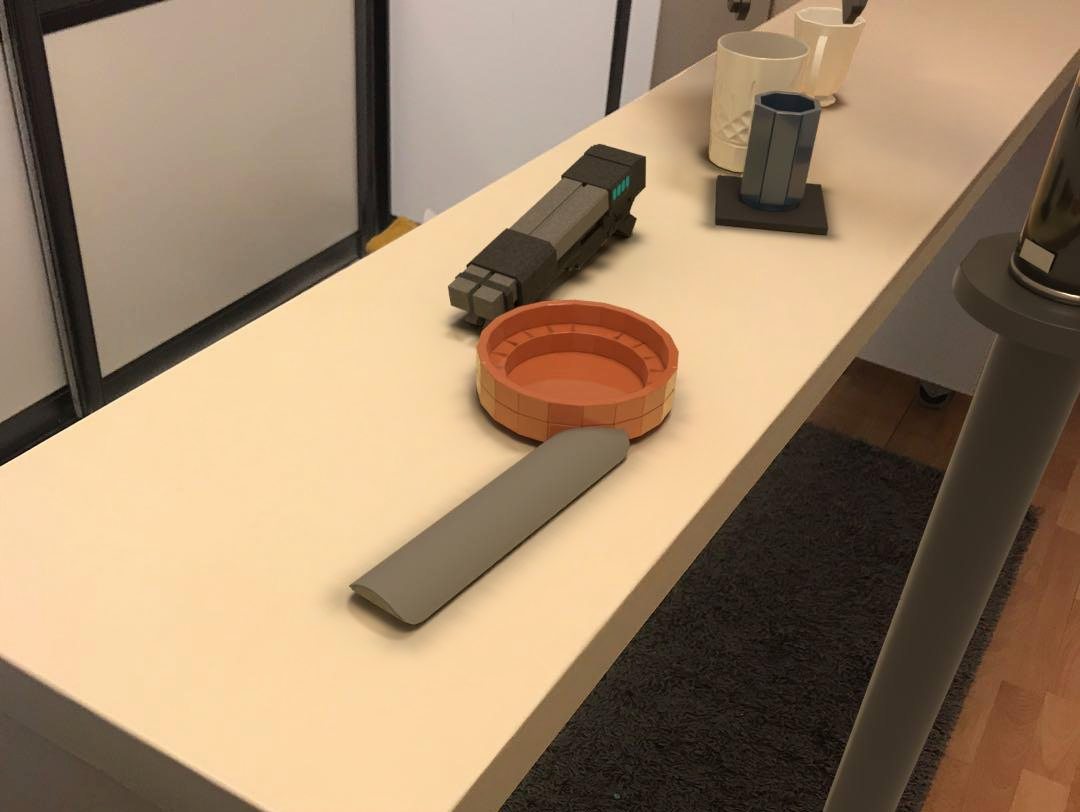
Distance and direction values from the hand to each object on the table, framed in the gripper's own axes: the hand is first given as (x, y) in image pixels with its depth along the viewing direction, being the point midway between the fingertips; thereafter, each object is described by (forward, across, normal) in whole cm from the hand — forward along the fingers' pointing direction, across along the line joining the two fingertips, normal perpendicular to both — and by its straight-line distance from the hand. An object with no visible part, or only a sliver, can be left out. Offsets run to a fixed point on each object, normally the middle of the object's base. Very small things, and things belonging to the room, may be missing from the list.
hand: (797, 17), depth 82 cm
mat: (+12, 0, +9) cm, 14 cm away
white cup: (+4, 0, +16) cm, 17 cm away
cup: (-6, +10, +27) cm, 29 cm away
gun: (+21, -19, -1) cm, 29 cm away
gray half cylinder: (+41, -23, -20) cm, 51 cm away
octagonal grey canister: (+11, 0, +8) cm, 14 cm away
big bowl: (+32, -18, -12) cm, 39 cm away
